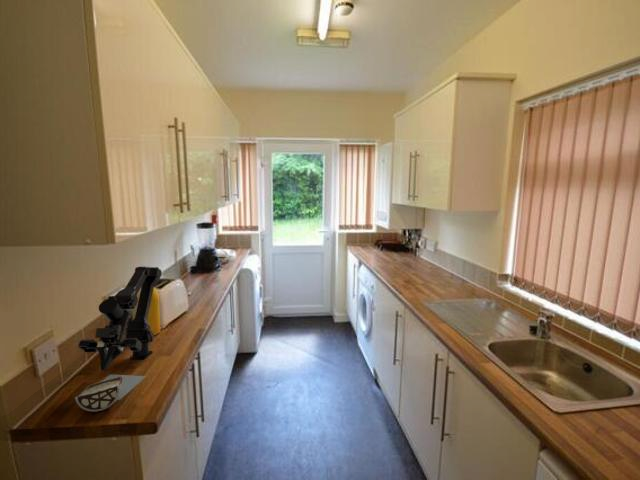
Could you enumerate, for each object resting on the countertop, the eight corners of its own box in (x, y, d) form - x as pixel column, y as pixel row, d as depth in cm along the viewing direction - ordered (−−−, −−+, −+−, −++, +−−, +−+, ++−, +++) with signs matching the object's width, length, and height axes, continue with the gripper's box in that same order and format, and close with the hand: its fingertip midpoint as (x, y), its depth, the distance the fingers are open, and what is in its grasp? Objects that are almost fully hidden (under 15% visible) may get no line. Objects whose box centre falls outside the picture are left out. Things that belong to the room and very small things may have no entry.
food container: (88, 404, 110) (77, 419, 101) (84, 386, 110) (73, 399, 101) (130, 391, 114) (123, 405, 105) (126, 374, 114) (119, 386, 104)
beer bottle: (164, 332, 166) (162, 274, 162) (146, 338, 158) (143, 278, 155) (154, 328, 171) (151, 272, 167) (135, 334, 163) (132, 275, 160)
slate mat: (110, 374, 125) (110, 374, 125) (146, 376, 124) (146, 376, 124) (78, 398, 110) (78, 397, 110) (119, 400, 109) (119, 400, 109)
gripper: (78, 316, 113) (59, 363, 104) (136, 315, 115) (122, 361, 106) (93, 330, 122) (77, 374, 113) (147, 328, 124) (135, 372, 115)
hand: (102, 370), depth 111 cm, fingers closed
